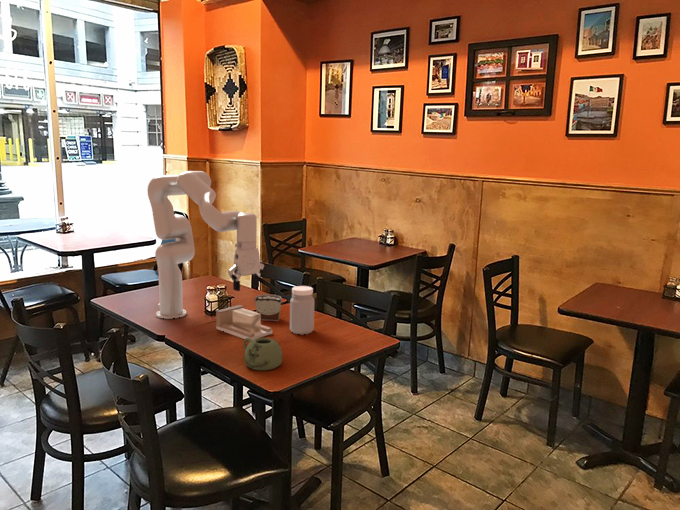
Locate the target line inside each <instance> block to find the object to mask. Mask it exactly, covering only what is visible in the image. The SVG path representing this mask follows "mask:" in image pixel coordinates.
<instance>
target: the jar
mask: <svg viewBox="0 0 680 510" xmlns="http://www.w3.org/2000/svg"><path fill="white" fill-rule="evenodd" d="M313 293H314V288H313V287H312V286H308V285H297V286H294V287H292V288H291V298H290V300H289V331H290V332H291V333H292V332H293V333H292V334H294V335H297V334H300V335H301V336H304V334H306V335H309V333H310V334H312V332H313V331H314V329H315V298H314V297H313V296H314V295H313Z"/></svg>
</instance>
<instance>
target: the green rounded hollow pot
mask: <svg viewBox="0 0 680 510" xmlns="http://www.w3.org/2000/svg"><path fill="white" fill-rule="evenodd" d="M247 342H248V345H247ZM243 348H244V350H245V351H244V355H243V356H244V357H243V359H244V363H245V366H247V367H248V368H250V369H251V370H255V371H271V370H275V369H276V368H278V367H279V366H281V364H282V362H283V352H282V347H281V346H280V344H279V342H278V341H277V340H276V339H274V338H271V337H260V338H257V339H254V340H251V339H250V338H246V339H244V340H243Z"/></svg>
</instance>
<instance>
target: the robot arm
mask: <svg viewBox="0 0 680 510" xmlns="http://www.w3.org/2000/svg"><path fill="white" fill-rule="evenodd" d="M211 186H212V179H211V177H210V175H209V174H208V173H207V172H206V171H202V170H186V171H184V172H181V173H180V174H162V175H157V176H155V177H152V179H151V180H150V181H149V183H148V186H147V197H148V200H149V203H150V207H151V211H152V218H153V222H154V223H153V224H154V232H155V235H156V237H157V238H158V240H163V241H164V240H165V241H167V240H174V239H175V241H172V242H166V243H163V244H160V245H159V246H158V247H157V248H156V249H155V255H154V258H155V260H156V265H157V271H158V297H159V303H157V304H156V307H157V308H158V309H159V310H158V311H156V313H155V315H156V317H157V318H159V319H163V318H164V320H172V319H173V318H175V319H180V318H183V317H185V316H186V315H187V312H188V311H187V310H186V309H184V307H183V274H182V271H181V269H180V267H179V265H180V264H183V263H187V262H190V261H191V260H193V258H194V256H195V252H196V248H195V241H194V236H193V235H194V234H193V230H192V225H191V222H190V221H189V219H188V218H187V217H185V216H183V215H175V211H174V206H173V204H172V201H170V199H169V198H168V197H169V196H181V195H182V196H183V195H186V196H188V197H189V198H190V199H191V200H192V201H193V202H194V203H195V204H196V205H198V208H199V209H198V210H199V213H200V216H201V218H202V220H203V221H204V222H205V223H206V224H207V225H208V226H209V227H210V228H212V230H214V231H216V232H219V233H224V232H226V233H227V232H231V231H236V243H235V244H234V246H235V248H236V249H235V250H234V258H233V266H232V267H230V268H229V269H228V270H227V273H228V276H229V277H230V279H231V280H232V283H233V284H232V285H233V287H232V288H233V290H234V291H236V292H240V291H241V280H240V279H241V278H242V277H246V276H251V275H253V276H252V286H253V287H256V288H259V287H260V277H261V274H262V273H263V270H264V267H265V264H264V263H262V262H261V260H260V259H261V258H260V252H259V248H258V247H257V234H258V233H257V215H256V214H255V213H251V212H242V211H240V210H239V211H238V210H231V211H228V210H227V211H222V212H221V211H219V210H218V209H217V208H216V207H215V205H213V203H214V202H215V199H216V197H217V193H216V192H215V190H214V189H213V188H212V187H211ZM179 317H180V318H179Z"/></svg>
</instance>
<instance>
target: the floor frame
mask: <svg viewBox="0 0 680 510" xmlns="http://www.w3.org/2000/svg"><path fill="white" fill-rule="evenodd" d="M241 308H243V309H244V305H241V304H238V305H233V306H229V307H226V308H222V309H218V310H215V312H216V313H215V325H216V326H215V327H216V330H219V331H221V332H223V331H224V332H223V333H225V334H229V335H232V336H234V337H237V338H239V339H242V340H243V339H244V340H245V339H246V338H250V339H251V340H254V339H257V338H264V337H266V336H270V335H272V334H273V330H272V327H269V326H267V325H263V324H261V331H259V332H255V333H252V332H249V331H246V330H243V329H240V328H237V327H235V326H233V310H237V309H241Z"/></svg>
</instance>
